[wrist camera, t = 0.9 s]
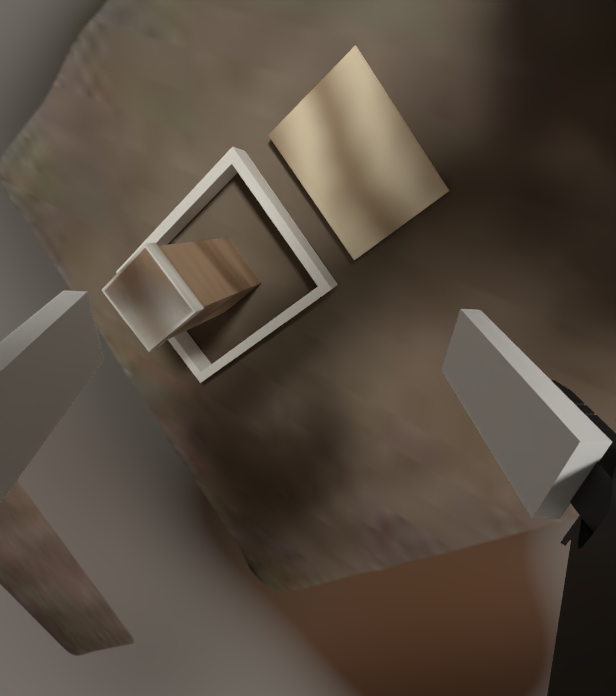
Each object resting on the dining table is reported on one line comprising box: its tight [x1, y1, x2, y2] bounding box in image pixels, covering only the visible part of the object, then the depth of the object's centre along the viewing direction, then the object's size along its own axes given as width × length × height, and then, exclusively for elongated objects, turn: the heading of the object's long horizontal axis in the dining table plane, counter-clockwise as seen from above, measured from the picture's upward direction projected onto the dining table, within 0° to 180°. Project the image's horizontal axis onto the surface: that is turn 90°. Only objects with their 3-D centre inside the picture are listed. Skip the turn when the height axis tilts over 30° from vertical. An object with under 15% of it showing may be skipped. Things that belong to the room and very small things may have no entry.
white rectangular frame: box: [116, 147, 338, 383], centre depth 41 cm, size 20×16×2 cm
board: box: [269, 45, 449, 260], centre depth 34 cm, size 10×14×1 cm
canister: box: [102, 237, 261, 351], centre depth 37 cm, size 6×6×13 cm
